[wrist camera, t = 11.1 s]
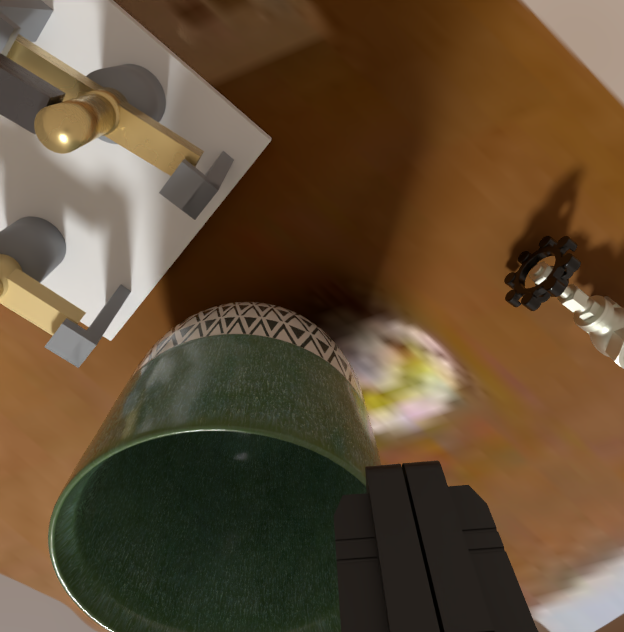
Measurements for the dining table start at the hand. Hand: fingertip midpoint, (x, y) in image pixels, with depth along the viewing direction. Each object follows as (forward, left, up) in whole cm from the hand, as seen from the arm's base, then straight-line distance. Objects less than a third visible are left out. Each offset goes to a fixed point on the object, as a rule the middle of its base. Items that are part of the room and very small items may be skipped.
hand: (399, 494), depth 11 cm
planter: (-18, -7, -34) cm, 39 cm away
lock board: (-13, +13, -34) cm, 38 cm away
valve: (+5, -23, -34) cm, 42 cm away
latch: (-6, +14, -27) cm, 31 cm away
